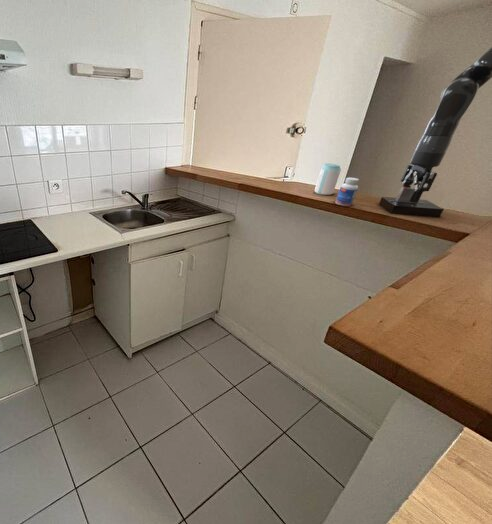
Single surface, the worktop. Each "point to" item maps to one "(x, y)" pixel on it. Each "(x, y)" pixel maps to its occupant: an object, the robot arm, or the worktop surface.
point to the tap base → (411, 207)
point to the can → (327, 179)
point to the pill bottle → (347, 192)
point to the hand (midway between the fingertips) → (407, 198)
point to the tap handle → (405, 195)
